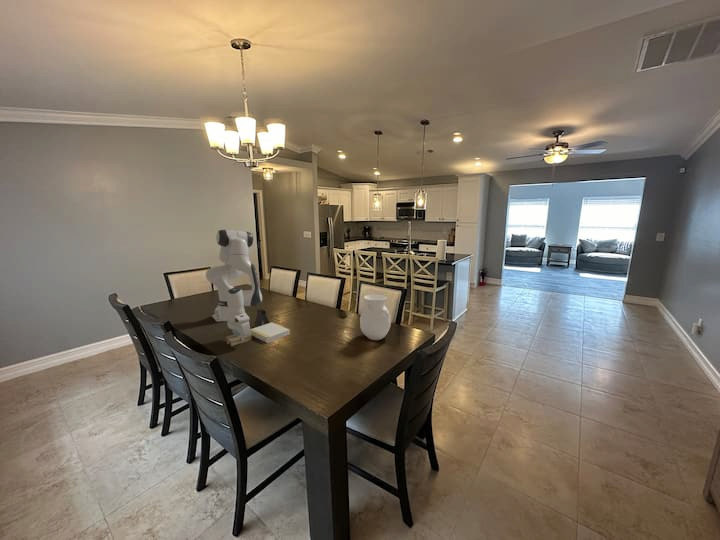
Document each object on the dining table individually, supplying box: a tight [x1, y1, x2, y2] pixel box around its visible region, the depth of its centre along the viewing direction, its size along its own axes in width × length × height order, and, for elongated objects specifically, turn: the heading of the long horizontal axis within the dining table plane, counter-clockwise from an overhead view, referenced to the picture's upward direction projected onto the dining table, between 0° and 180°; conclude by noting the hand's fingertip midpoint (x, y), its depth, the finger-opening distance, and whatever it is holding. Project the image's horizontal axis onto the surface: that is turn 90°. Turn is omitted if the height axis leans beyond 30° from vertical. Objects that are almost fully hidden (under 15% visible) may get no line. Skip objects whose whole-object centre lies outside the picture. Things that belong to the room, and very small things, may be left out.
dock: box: [250, 322, 291, 344], centre depth 177 cm, size 20×16×3 cm
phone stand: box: [253, 308, 271, 328], centre depth 189 cm, size 9×6×12 cm, turn 136°
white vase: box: [359, 293, 392, 341], centre depth 169 cm, size 19×18×25 cm
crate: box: [232, 329, 241, 337], centre depth 167 cm, size 4×4×4 cm
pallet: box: [226, 333, 252, 347], centre depth 168 cm, size 6×12×4 cm, turn 140°
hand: (239, 338), depth 168 cm, fingers closed on pallet, 6 cm apart
